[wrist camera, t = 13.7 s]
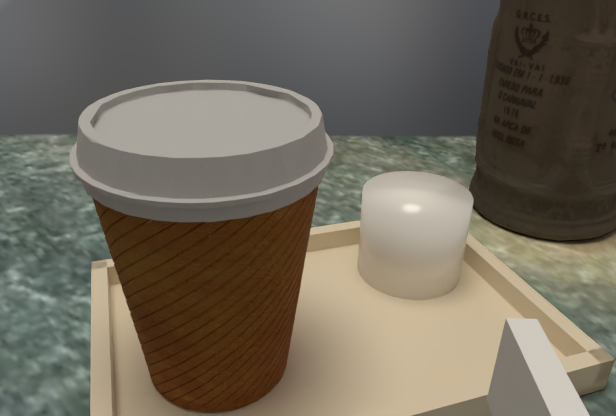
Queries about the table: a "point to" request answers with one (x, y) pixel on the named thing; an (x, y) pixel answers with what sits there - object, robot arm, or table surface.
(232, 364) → the disposable coffee cup
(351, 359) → the serving tray
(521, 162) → the beer stein
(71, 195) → the table surface
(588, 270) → the table surface
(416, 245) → the white rounded cylinder
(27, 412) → the table surface
